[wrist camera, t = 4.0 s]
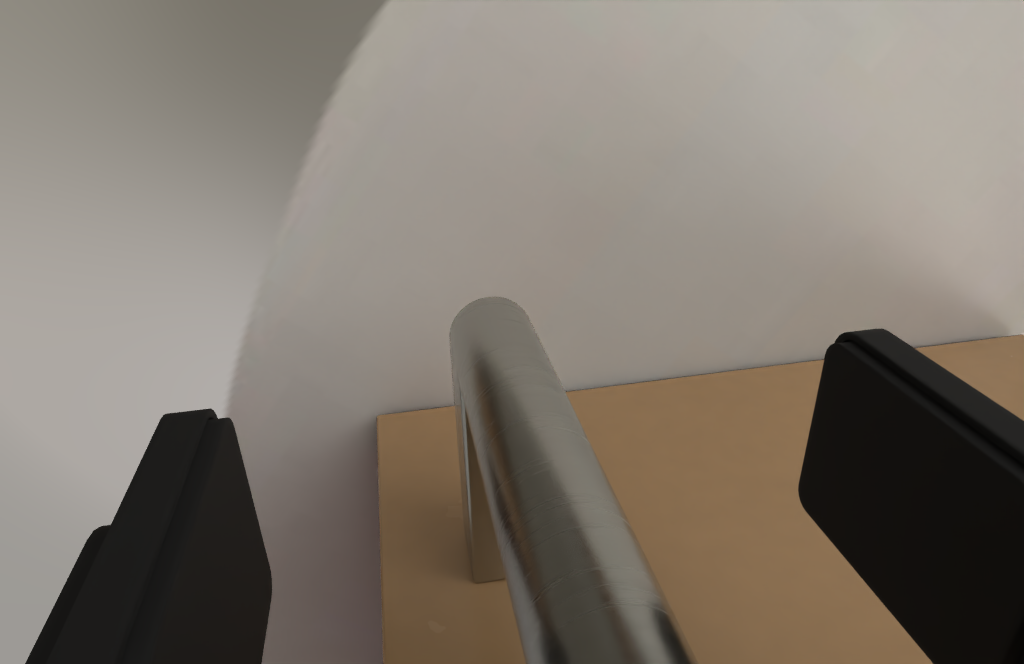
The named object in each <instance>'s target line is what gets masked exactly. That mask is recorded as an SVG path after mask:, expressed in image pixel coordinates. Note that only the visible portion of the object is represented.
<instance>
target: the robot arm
mask: <svg viewBox="0 0 1024 664" xmlns="http://www.w3.org/2000/svg"><path fill="white" fill-rule="evenodd" d="M798 493H799V498H800V502H801V504H802V506H803V508H804V509H805V511H806V512H807V513H808V515H809V516H810V517H811V518H812V519H813V521H814V522H815V523H816V524H817V525H818V527H819V528H820V529H821V530H822V531H823V533H824V534H825V535H826V536H827V537H828V539H829V540H830V541H831V542H832V543H833V545H834V546H835V547H836V548H837V549H838V550H839V552H840V553H841V554H842V555H843V556H844V558H845V559H846V560H847V561H848V562H849V564H850V565H851V566H852V567H853V568H854V570H855V571H856V572H857V573H858V574H859V576H860V577H861V578H862V579H863V580H864V582H865V583H866V584H867V585H868V586H869V588H870V589H871V590H872V591H873V592H874V593H875V595H876V596H877V597H878V598H879V599H880V601H881V602H882V603H883V604H884V605H885V607H886V608H887V609H888V610H889V611H890V613H891V614H892V615H893V616H894V617H895V619H896V620H897V621H898V622H899V623H900V625H901V626H902V627H903V628H904V629H905V631H906V632H907V633H908V634H909V635H910V636H911V638H912V639H913V640H914V641H915V642H916V644H917V645H918V646H919V647H920V648H921V650H922V651H923V652H924V653H925V654H926V656H927V657H928V658H929V659H930V660H931V662H932V663H933V664H1024V421H1023V420H1022V419H1020V418H1019V417H1017V416H1016V415H1014V414H1013V413H1011V412H1010V411H1008V410H1007V409H1005V408H1004V407H1002V406H1001V405H999V404H998V403H996V402H995V401H993V400H992V399H990V398H989V397H987V396H986V395H984V394H983V393H981V392H980V391H978V390H977V389H975V388H973V387H972V386H970V385H969V384H967V383H966V382H964V381H963V380H961V379H960V378H958V377H957V376H955V375H954V374H952V373H951V372H949V371H948V370H946V369H945V368H943V367H942V366H940V365H939V364H937V363H936V362H934V361H933V360H931V359H930V358H928V357H927V356H925V355H924V354H922V353H921V352H919V351H918V350H916V349H915V348H913V347H912V346H910V345H909V344H907V343H906V342H904V341H902V340H901V339H899V338H898V337H896V336H895V335H893V334H892V333H890V332H889V331H887V330H884V329H871V330H862V331H854V332H846V333H843V334H841V335H839V337H838V338H837V339H836V341H835V343H834V344H832V345H830V346H829V348H828V349H827V351H826V354H825V359H824V363H823V368H822V373H821V378H820V383H819V388H818V392H817V397H816V402H815V407H814V412H813V417H812V421H811V426H810V431H809V436H808V441H807V446H806V451H805V455H804V460H803V465H802V470H801V475H800V480H799V485H798ZM271 595H272V578H271V571H270V566H269V562H268V558H267V554H266V550H265V546H264V542H263V538H262V534H261V530H260V526H259V522H258V519H257V515H256V511H255V507H254V503H253V499H252V495H251V491H250V487H249V483H248V479H247V475H246V471H245V467H244V463H243V459H242V455H241V452H240V448H239V444H238V440H237V436H236V432H235V428H234V425H233V422H232V420H231V419H230V418H221V419H218V418H217V415H216V414H215V412H214V410H212V409H203V410H195V411H187V412H179V413H170V414H165V415H163V417H162V418H161V420H160V422H159V424H158V426H157V428H156V430H155V432H154V434H153V436H152V439H151V441H150V443H149V445H148V447H147V449H146V451H145V454H144V456H143V458H142V460H141V462H140V464H139V466H138V468H137V471H136V473H135V475H134V477H133V479H132V481H131V483H130V486H129V488H128V490H127V492H126V494H125V496H124V498H123V500H122V502H121V505H120V507H119V509H118V511H117V513H116V515H115V517H114V520H113V522H112V524H111V525H107V526H101V527H99V528H97V529H96V530H94V531H93V533H92V534H91V535H90V537H89V538H88V540H87V542H86V543H85V546H84V547H83V549H82V552H81V553H80V555H79V557H78V559H77V561H76V563H75V565H74V568H73V569H72V571H71V573H70V575H69V577H68V579H67V582H66V584H65V585H64V587H63V589H62V591H61V593H60V595H59V597H58V599H57V601H56V603H55V606H54V607H53V609H52V611H51V613H50V615H49V617H48V619H47V621H46V623H45V625H44V627H43V629H42V632H41V633H40V635H39V637H38V639H37V641H36V643H35V645H34V647H33V649H32V651H31V653H30V655H29V657H28V659H27V661H26V663H25V664H261V662H262V656H263V649H264V643H265V636H266V629H267V623H268V616H269V610H270V603H271Z"/></svg>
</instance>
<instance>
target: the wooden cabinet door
mask: <svg viewBox="0 0 1024 664" xmlns="http://www.w3.org/2000/svg"><path fill="white" fill-rule="evenodd" d="M915 349H916V350H918V351H919V352H921V353H922V354H924V355H925V356H927V357H928V358H930V359H931V360H933V361H934V362H936V363H937V364H939V365H940V366H942V367H943V368H945V369H946V370H948V371H949V372H951V373H952V374H954V375H955V376H957V377H958V378H960V379H961V380H963V381H964V382H966V383H967V384H969V385H970V386H972V387H973V388H975V389H977V390H978V391H980V392H981V393H983V394H984V395H986V396H987V397H989V398H990V399H992V400H993V401H995V402H996V403H998V404H999V405H1001V406H1002V407H1004V408H1005V409H1007V410H1008V411H1010V412H1011V413H1013V414H1014V415H1016V416H1017V417H1019V418H1020V419H1022V420H1023V421H1024V335H1015V336H1007V337H999V338H991V339H983V340H975V341H967V342H959V343H951V344H943V345H935V346H927V347H920V348H915ZM450 352H451V365H452V378H453V391H454V404H455V406H449V407H441V408H433V409H425V410H417V411H410V412H402V413H394V414H386V415H379V416H377V453H378V491H379V529H380V567H381V605H382V644H383V664H933V663H932V662H931V660H930V659H929V658H928V657H927V656H926V654H925V653H924V652H923V651H922V650H921V648H920V647H919V646H918V645H917V644H916V642H915V641H914V640H913V639H912V638H911V636H910V635H909V634H908V633H907V632H906V631H905V629H904V628H903V627H902V626H901V625H900V623H899V622H898V621H897V620H896V619H895V617H894V616H893V615H892V614H891V613H890V611H889V610H888V609H887V608H886V607H885V605H884V604H883V603H882V602H881V601H880V599H879V598H878V597H877V596H876V595H875V593H874V592H873V591H872V590H871V589H870V588H869V586H868V585H867V584H866V583H865V582H864V580H863V579H862V578H861V577H860V576H859V574H858V573H857V572H856V571H855V570H854V568H853V567H852V566H851V565H850V564H849V562H848V561H847V560H846V559H845V558H844V556H843V555H842V554H841V553H840V552H839V550H838V549H837V548H836V547H835V546H834V545H833V543H832V542H831V541H830V540H829V539H828V537H827V536H826V535H825V534H824V533H823V531H822V530H821V529H820V528H819V527H818V525H817V524H816V523H815V522H814V521H813V519H812V518H811V517H810V516H809V515H808V513H807V512H806V511H805V509H804V508H803V506H802V504H801V502H800V498H799V493H798V485H799V480H800V475H801V470H802V465H803V460H804V455H805V451H806V446H807V441H808V436H809V431H810V426H811V421H812V417H813V412H814V407H815V402H816V397H817V392H818V388H819V383H820V378H821V373H822V368H823V363H824V360H816V361H808V362H800V363H792V364H784V365H776V366H768V367H760V368H752V369H744V370H736V371H728V372H720V373H712V374H704V375H696V376H688V377H680V378H672V379H665V380H657V381H649V382H641V383H633V384H625V385H617V386H609V387H601V388H593V389H585V390H577V391H569V392H565V390H564V388H563V386H562V384H561V382H560V380H559V378H558V376H557V374H556V372H555V370H554V368H553V366H552V364H551V362H550V360H549V358H548V356H547V354H546V352H545V350H544V348H543V346H542V344H541V342H540V339H539V337H538V335H537V333H536V331H535V329H534V327H533V325H532V323H531V321H530V319H529V317H528V315H527V314H526V312H525V311H524V310H523V308H521V307H520V306H519V305H518V304H516V303H515V302H513V301H511V300H509V299H506V298H501V297H486V298H481V299H478V300H476V301H473V302H472V303H470V304H468V305H467V306H466V307H464V308H463V309H462V310H461V311H460V312H459V313H458V315H457V316H456V317H455V319H454V321H453V323H452V326H451V329H450Z"/></svg>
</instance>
